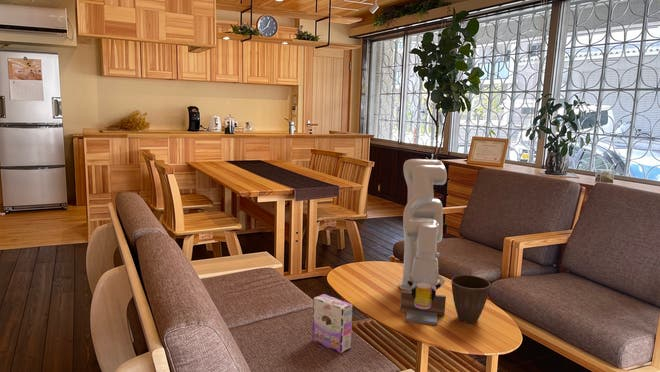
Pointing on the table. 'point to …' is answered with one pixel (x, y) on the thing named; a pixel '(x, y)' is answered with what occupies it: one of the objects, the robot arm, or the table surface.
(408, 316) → the slate mat
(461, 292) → the plant pot
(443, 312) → the walnut screen
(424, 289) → the supplement bottle
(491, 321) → the table surface
